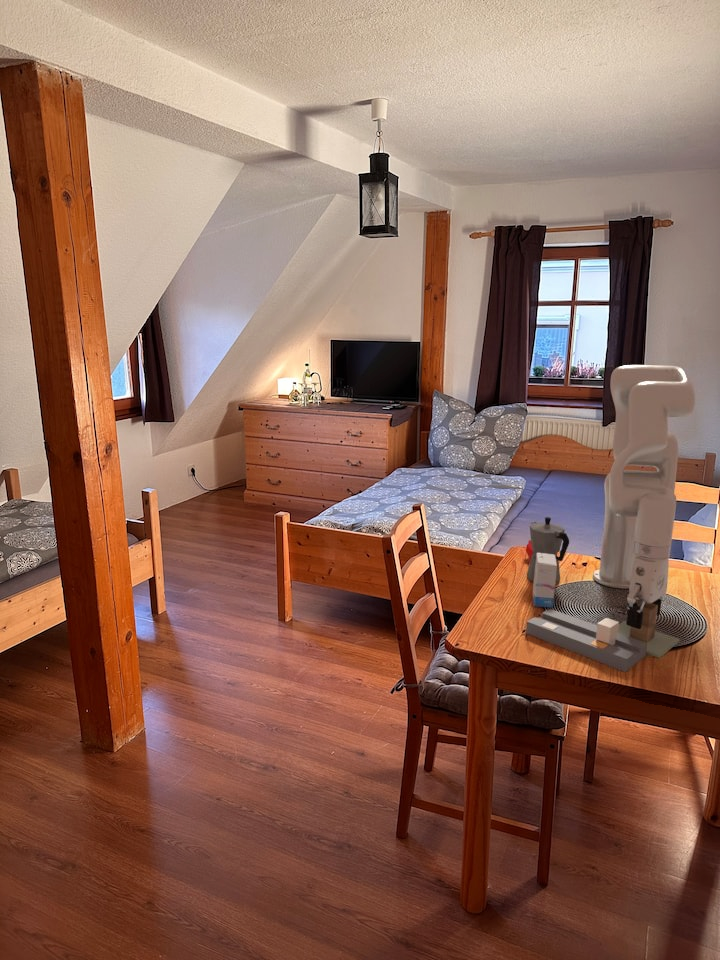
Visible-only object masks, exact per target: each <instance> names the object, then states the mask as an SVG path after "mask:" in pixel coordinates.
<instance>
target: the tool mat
mask: <svg viewBox="0 0 720 960" xmlns="http://www.w3.org/2000/svg"><path fill="white" fill-rule="evenodd" d="M626 623H627V620H623V621H622V622H619V627H618V633H620V634H623V635H626V636H628V637H629V636H630V628H631V626H628V625H627V624H626ZM680 642H681V641H680V638H677V637H675V636H671V635H669V634H665V633H663V632H660V631H657V630H655V634H654V638H653V639H651V640H650V641H649V642H648V643H647V651H646V655H649V656H651V657H656V658H658V659H660V658H661V657H662V656H664V655H665V654H666V653H668V652H669V650H671V649H672V648H673V647H674V645H675V646H676V645H677V644H678V643H680Z"/></svg>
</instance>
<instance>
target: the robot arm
mask: <svg viewBox="0 0 720 960" xmlns="http://www.w3.org/2000/svg"><path fill="white" fill-rule="evenodd" d="M609 383H610V393H611V396H612V401H613V405H614V408H615V423H614V435H613V450H612V451H613V453H612V455H613V458H614V461H613V463H612V466H611V469H610V472H609V473H608V474H607V475H606V476H605V479H604V484H603V485H604V487H603V488H604V504H605V505H604V523H603V531H602V542H601V552H600V560H599V561H600V562H599V569H596V570H594V572H593V573H592V577H593V579H594V581H596V582H597V583H599V584H601V585H603V586H606V587H610V588H615V589H628V590H629V591H628V594H627V597H626V599H627V602H626V604H627V616H626V621H627V623H626V624H627V625H628V626H631V627H634V628H637V629H641V627H642V618H643V612H641V611H642V609H643V606H644V604H645V602H647V604H651V603H653V604H656V605H658V610H657V617H658V616H660V615H661V610H662V609H661V608H662V599H663V597H664V595H666V593H667V591H668V583H669V582H668V581H669V565H670V564H669V563H670V562H669V559H670V556H671V555H670V554H671V550H672V549H671V548H672V540H673V533H674V525H675V524H674V523H675V515H676V510H677V509H676V507H677V496H676V495H677V494H675V491H676V490H675V488H676V478H677V471H678V470H677V469H678V460H679V443H678V439H677V437H676V435H675V434H674V433H672V432H670V431H669V430H668V428H669V426H668V425H669V424H668V421H669V420H668V418H687V417H689V416H691V415H692V414H693V411H694V409H695V405H696V397H695V396H696V395H695V394H696V393H695V390H694V387H693V384H692V381H691V380H690V378H689V375H688V374H687V371H685V369H684V368H683V367H680V366H678V365H677V366H676V365H650V364H630V365H629V364H627V365H622V366H618V367H616V368H615V369H613V371H612V373H611V376H610V382H609ZM626 466H637V467H653V468H655V469H656V471H654V470H653V471H652V470H651V471H650V470H638V469H637V470H636V469H625V468H626ZM637 602H640V604H639V606H638V604H637Z"/></svg>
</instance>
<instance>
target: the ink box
mask: <svg viewBox="0 0 720 960" xmlns="http://www.w3.org/2000/svg"><path fill="white" fill-rule="evenodd" d="M556 572H557V563H556V558H555V555H554V554H546V553H536V564H535V574H534V582H533V584H532V585H533V587H532V600H533V606H534V607H538V608H539V607H541V608H549V609H551V608H552V609H553V608H554V599H555V589H556V583H555V582H556Z"/></svg>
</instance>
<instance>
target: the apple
mask: <svg viewBox="0 0 720 960" xmlns="http://www.w3.org/2000/svg"><path fill="white" fill-rule="evenodd" d="M525 552H526V554H527V556H528V558H529V561H530V560H531V556H532V555H533V549H532V547H531V539H529V540H528V542H527V544H526V548H525Z"/></svg>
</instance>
